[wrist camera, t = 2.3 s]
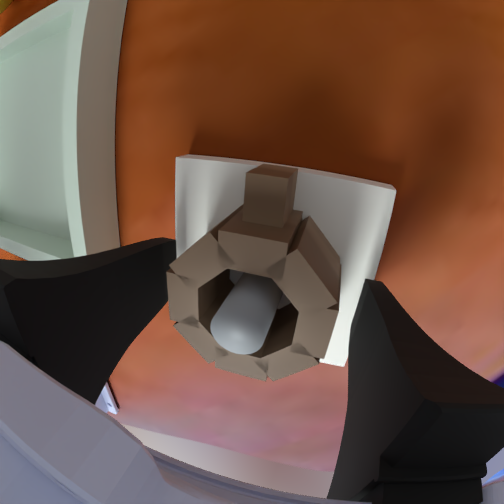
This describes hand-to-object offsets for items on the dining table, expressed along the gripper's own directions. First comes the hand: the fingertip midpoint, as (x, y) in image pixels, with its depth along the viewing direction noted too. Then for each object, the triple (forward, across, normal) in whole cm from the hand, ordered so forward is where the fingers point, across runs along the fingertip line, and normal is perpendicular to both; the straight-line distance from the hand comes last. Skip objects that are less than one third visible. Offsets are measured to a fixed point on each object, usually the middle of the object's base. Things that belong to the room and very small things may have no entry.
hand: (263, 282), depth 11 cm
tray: (+2, +15, -5) cm, 16 cm away
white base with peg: (+2, 0, 0) cm, 2 cm away
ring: (+1, 0, 0) cm, 1 cm away
